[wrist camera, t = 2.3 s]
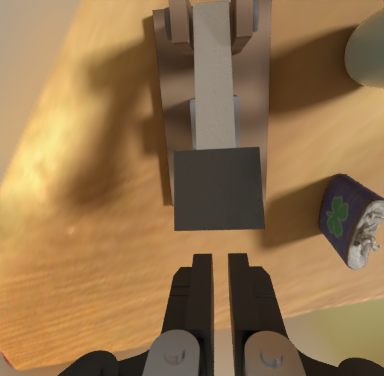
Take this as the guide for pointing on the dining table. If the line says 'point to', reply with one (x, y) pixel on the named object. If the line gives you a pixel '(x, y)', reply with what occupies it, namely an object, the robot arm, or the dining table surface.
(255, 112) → the frame
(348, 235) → the flask
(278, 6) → the dining table surface
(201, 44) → the lever
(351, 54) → the cup
